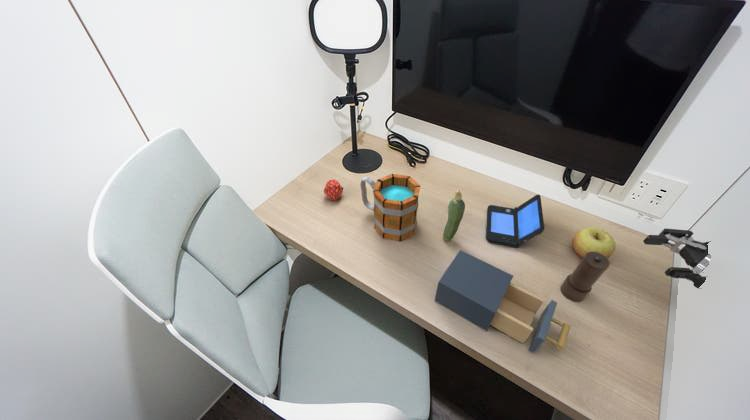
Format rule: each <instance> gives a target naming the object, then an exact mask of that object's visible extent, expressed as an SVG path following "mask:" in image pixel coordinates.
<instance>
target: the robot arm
mask: <svg viewBox="0 0 750 420" xmlns="http://www.w3.org/2000/svg"><path fill="white" fill-rule="evenodd" d="M693 235H694V232H693V231H692V230H689V229H676V228H666V227H665V228H663V229H662V230H661V231H660V233H658V234H649V235H647V236H646V237H645V238H644V239H643V244H644V245H649V246H664V247H665V248H666V247H667V248H668V249H669V251H671V252H673V253H675V254H678V255H679V256H680V257H681V258H682V259H683V260H684V262H685V264H686V265H687V266H689V267H676V266H671V267H668V268H667V269H666V270H665V271H664V274H665V276H666V277H670V278H673V279H684V280H687V281H691V282H692V283H693V284H692V285H693V287H695V288H697V289H700V288H699V287H700V286H701V285H702V284H703V283H704V282H705V280H706V277H707V276H702V275H701V273H703V272H702V271H703V270H704V269H705V268H706V267H707V266H708V265H709V261H710V260H711V255H710V254H708V245H707V244H708V243H709V242H711V241H712V240H711V241H705V242H702V241H699V240H695V239H694V238H693V237H692V236H693ZM669 241H671V242H673V243H671V242H669ZM681 245H684V246H683V247H682V248H679V247H680V246H681ZM690 267H691V268H690Z"/></svg>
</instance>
